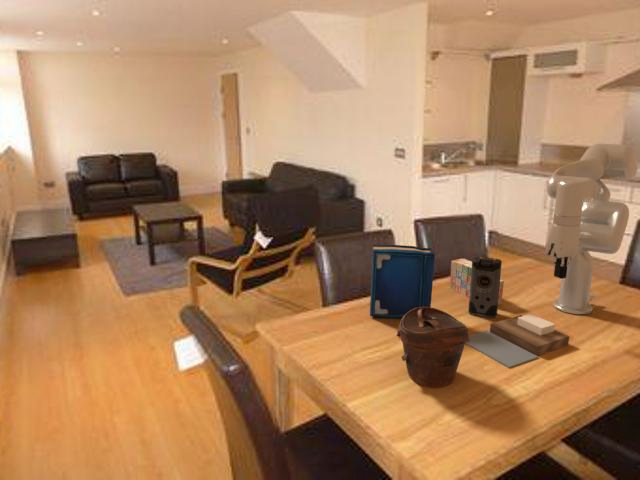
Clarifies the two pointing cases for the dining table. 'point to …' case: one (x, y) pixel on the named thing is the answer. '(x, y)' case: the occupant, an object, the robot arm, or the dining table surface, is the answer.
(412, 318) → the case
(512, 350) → the mat
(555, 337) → the plate
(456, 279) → the stack of blocks
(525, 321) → the tile
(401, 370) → the dining table surface
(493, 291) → the electronic device
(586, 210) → the robot arm
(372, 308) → the book
